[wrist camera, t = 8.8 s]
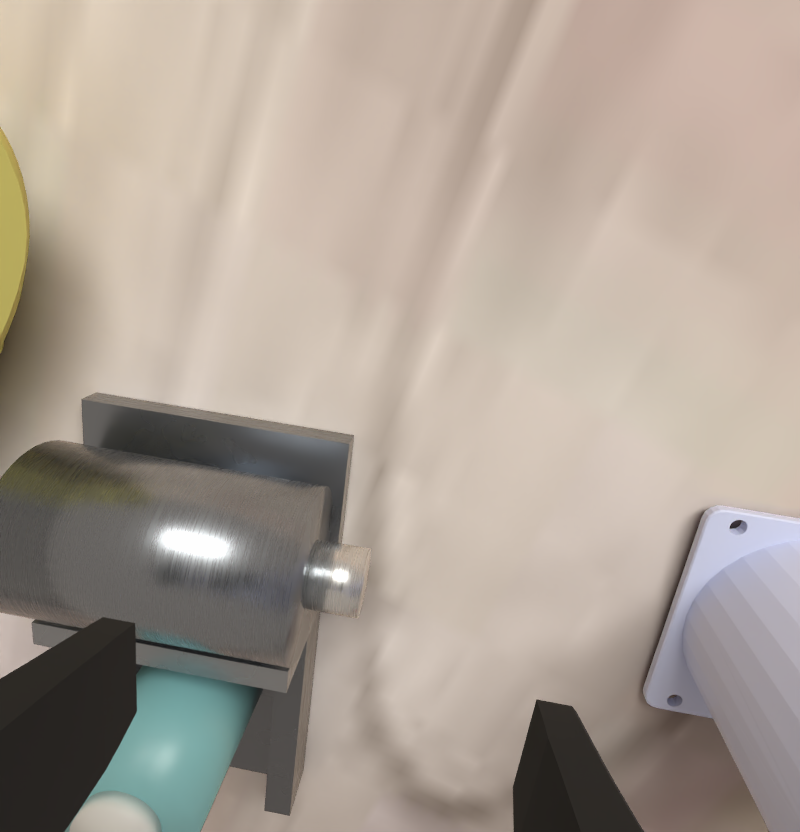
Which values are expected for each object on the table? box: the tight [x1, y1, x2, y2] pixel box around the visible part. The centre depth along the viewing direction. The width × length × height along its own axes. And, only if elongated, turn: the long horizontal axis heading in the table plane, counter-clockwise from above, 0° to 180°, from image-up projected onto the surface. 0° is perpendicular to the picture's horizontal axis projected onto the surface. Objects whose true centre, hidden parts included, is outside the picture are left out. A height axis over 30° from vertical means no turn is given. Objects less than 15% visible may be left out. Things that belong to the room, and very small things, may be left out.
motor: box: [0, 393, 371, 816], centre depth 19 cm, size 10×15×6 cm
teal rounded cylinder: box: [65, 665, 263, 832], centre depth 19 cm, size 4×4×7 cm
